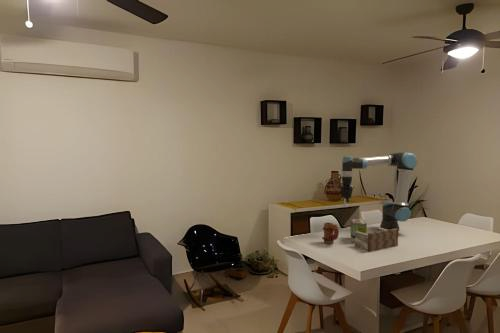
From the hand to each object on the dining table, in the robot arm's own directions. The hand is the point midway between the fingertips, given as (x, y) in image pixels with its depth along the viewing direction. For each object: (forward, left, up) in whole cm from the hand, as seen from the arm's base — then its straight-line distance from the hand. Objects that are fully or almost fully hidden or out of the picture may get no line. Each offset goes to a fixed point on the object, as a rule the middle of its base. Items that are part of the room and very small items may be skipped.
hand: (345, 206), depth 269 cm
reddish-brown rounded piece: (+25, +11, -23) cm, 36 cm away
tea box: (+1, +14, -23) cm, 27 cm away
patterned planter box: (+1, +30, -23) cm, 38 cm away
